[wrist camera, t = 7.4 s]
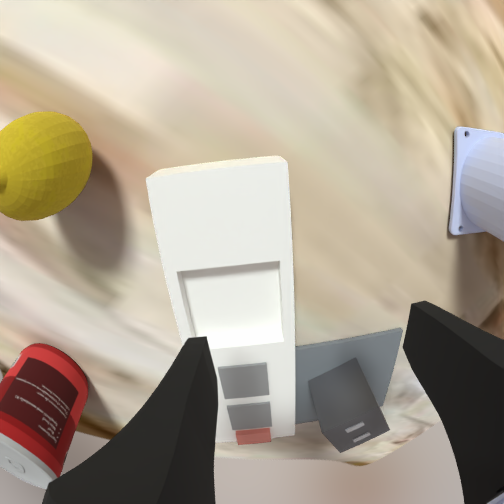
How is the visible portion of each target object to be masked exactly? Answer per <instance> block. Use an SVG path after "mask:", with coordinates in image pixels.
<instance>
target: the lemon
mask: <svg viewBox="0 0 504 504" xmlns="http://www.w3.org/2000/svg"><path fill="white" fill-rule="evenodd" d="M92 154H93V153H92V148H91V143H90V141H89V138H88V136H87V134H86V132H85V131H84V130H83V128H82V127H81V126H80V125H79V123H77V122H76V121H74V120H73V119H72V118H70V117H69V116H66V115H63V114H60V113H57V112H35V113H31V114H28V115H26V116H23V117H21V118H18V119H16V120H14V121H13V122H11V123H10V124H8V125H7V126H6V127H5V128H3V129H2V130H1V131H0V212H1V213H3V214H4V215H6V216H8V217H10V218H13V219H16V220H21V221H26V220H39V219H43V218H46V217H48V216H51V215H54V214H56V213H58V212H60V211H61V210H63V209H64V208H66V207H67V206H68V205H70V204H71V203H72V202H73V201H74V200H75V199H76V198H77V197H78V195H79V194H80V193H81V192H82V190H83V189H84V187H85V185H86V183H87V181H88V179H89V176H90V172H91V168H92Z"/></svg>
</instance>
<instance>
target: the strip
mask: <svg viewBox="0 0 504 504" xmlns="http://www.w3.org/2000/svg"><path fill="white" fill-rule="evenodd" d="M146 184H147V190H148V195H149V201H150V207H151V212H152V217H153V223H154V228H155V233H156V238H157V242H158V247H159V252H160V257H161V261H162V266H163V270H164V274H165V279H166V283H167V287H168V291H169V295H170V299H171V303H172V307H173V311H174V315H175V319H176V323H177V326H178V330H179V334H180V337H181V341H182V345H184V343H185V342H186V340H187V339H188V338H192V337H203V336H207V340H208V344H209V348H210V352H211V356H212V360H213V364H214V368H215V372H216V376H217V382H218V415H217V428H216V439H215V443H220V442H238V445H242V444H254V443H264V442H271V438H277V437H285V436H292V435H295V312H294V278H293V251H292V229H291V210H290V192H289V176H288V162H287V161H286V160H284V159H283V158H282V157H280V156H279V155H278V156H266V157H255V158H244V159H235V160H225V161H217V162H209V163H201V164H193V165H186V166H179V167H172V168H166V169H159V170H157V171H156V172H155V173H153V174H152V175H150V176H149V177H147V178H146Z"/></svg>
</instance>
